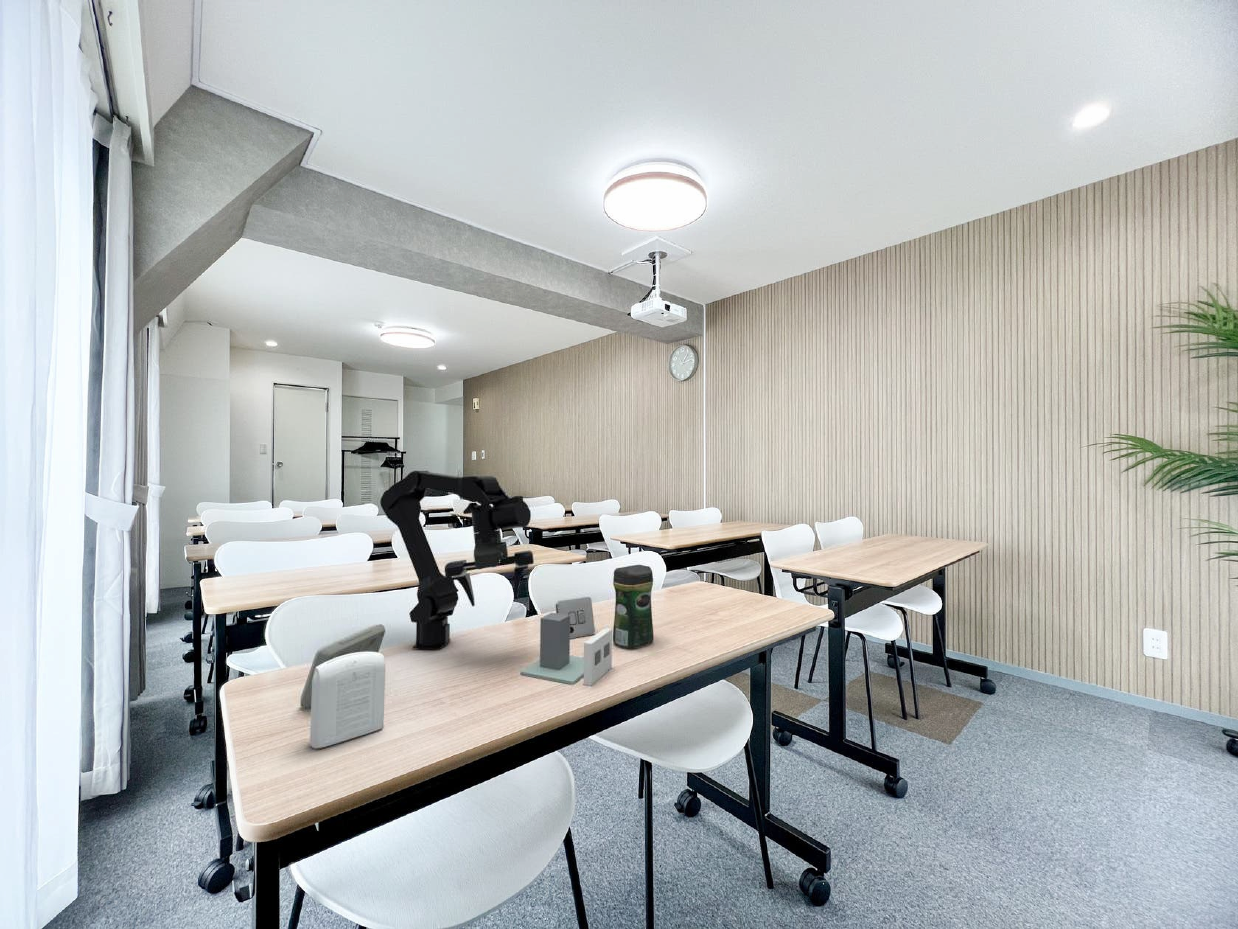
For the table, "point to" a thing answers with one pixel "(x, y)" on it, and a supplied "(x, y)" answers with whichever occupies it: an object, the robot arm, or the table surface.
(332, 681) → the photo printer
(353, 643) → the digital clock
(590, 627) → the electrical switch
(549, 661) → the block
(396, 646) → the table surface
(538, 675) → the mat
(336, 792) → the table surface
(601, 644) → the outlet plate
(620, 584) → the coffee jar
